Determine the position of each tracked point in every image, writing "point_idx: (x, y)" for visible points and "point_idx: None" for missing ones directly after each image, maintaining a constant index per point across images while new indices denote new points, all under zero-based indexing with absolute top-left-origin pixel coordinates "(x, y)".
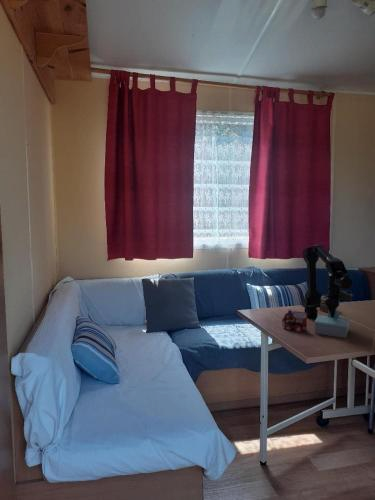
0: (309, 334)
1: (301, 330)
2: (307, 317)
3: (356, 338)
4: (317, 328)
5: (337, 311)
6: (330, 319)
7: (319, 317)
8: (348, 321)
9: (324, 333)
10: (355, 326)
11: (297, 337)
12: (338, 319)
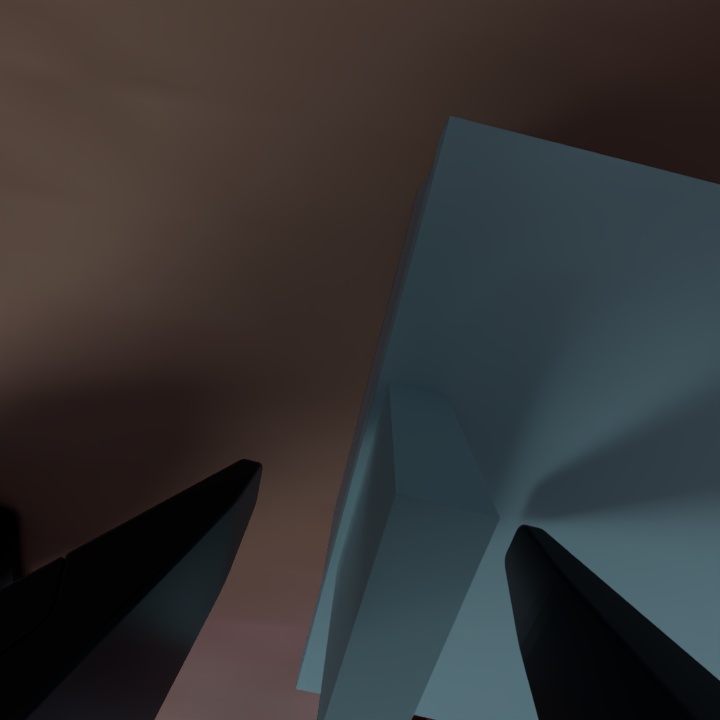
0: None
1: None
2: (2, 583)
3: (708, 110)
4: None
5: (474, 548)
6: (586, 565)
7: (463, 698)
8: (690, 182)
9: None
10: (72, 9)
11: None
12: (568, 415)
